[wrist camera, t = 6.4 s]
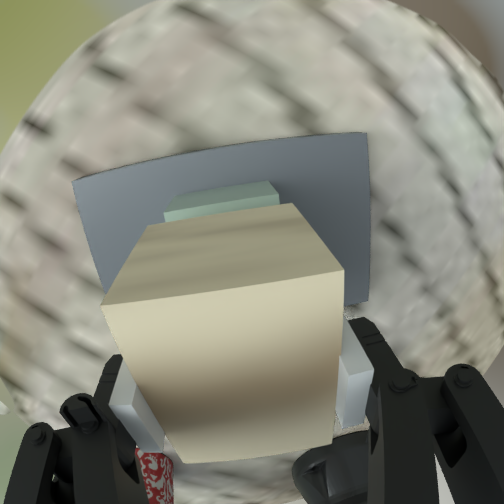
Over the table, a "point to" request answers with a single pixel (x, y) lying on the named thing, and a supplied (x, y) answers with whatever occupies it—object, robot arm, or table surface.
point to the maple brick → (233, 332)
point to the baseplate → (281, 160)
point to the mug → (157, 476)
